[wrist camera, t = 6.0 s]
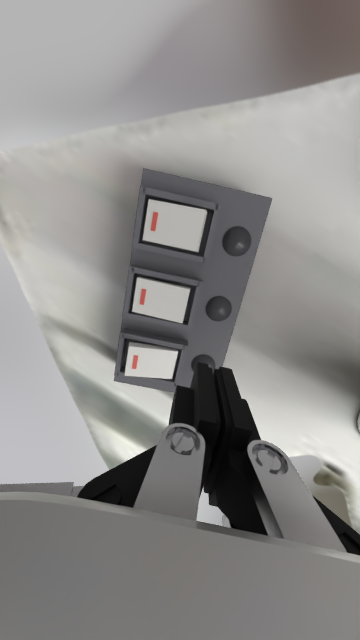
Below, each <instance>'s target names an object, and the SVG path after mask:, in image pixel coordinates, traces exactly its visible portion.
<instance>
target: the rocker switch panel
mask: <svg viewBox="0 0 360 640" xmlns="http://www.w3.org/2000/svg"><path fill="white" fill-rule="evenodd" d="M149 199H151V200H156V201H161V202H167V203H172V204H177V205H183V206H188V207H193V208H199V209H204V210H206V211H207V216H206V220H205V225H204V229H203V234H202V238H201V243H200V247H199V252H195V251H191V250H186V249H181V248H177V247H172V246H168V245H163V244H159V243H154V242H149V241H145V240H143V234H144V227H145V221H146V214H147V207H148V201H149ZM271 201H272V198H269V197H265V196H261V195H256V194H252V193H248V192H244V191H239V190H235V189H231V188H226V187H222V186H218V185H213V184H209V183H205V182H201V181H196V180H192V179H188V178H183V177H179V176H175V175H171V174H166V173H162V172H158V171H153V170H149V169H145V168H143V174H142V181H141V186H140V192H139V199H138V206H137V214H136V221H135V228H134V235H133V243H132V254H131V261H130V266H129V272H128V279H127V286H126V294H125V301H124V308H123V315H122V317H123V319H122V326H121V332H120V337H119V344H118V352H117V359H116V366H115V374H114V375H115V377H114V381H117V382H122V383H127V384H132V385H137V386H143V387H148V388H153V389H158V390H163V391H169V392H174V393H175V390H176V386H177V385H179V386H184V387H188V388H190V386H191V382H192V378H193V374H194V370H195V366H196V362H201V363H206V364H208V366H209V367H210V368H212V371H213V372H214V369H219V367H222V366H223V362H224V359H225V356H226V352H227V349H228V346H229V342H230V339H231V336H232V332H233V329H234V325H235V322H236V319H237V315H238V312H239V309H240V305H241V302H242V299H243V295H244V292H245V289H246V285H247V282H248V279H249V275H250V272H251V268H252V265H253V262H254V258H255V255H256V252H257V248H258V245H259V242H260V238H261V235H262V232H263V228H264V225H265V222H266V218H267V215H268V211H269V208H270V205H271ZM137 277H145V278H149V279H153V280H158V281H162V282H167V283H171V284H175V285H180V286H184V287H189V288H191V289H190V293H189V298H188V302H187V307H186V311H185V315H184V320H183V323H178V322H174V321H170V320H166V319H161V318H157V317H153V316H149V315H144V314H140V313H136V312H132V309H133V302H134V295H135V289H136V282H137ZM129 342H133V343H142V344H152V345H161V346H167V347H172V348H177V350H178V354H177V359H176V363H175V368H174V372H173V377H172V379H163V378H150V377H136V376H125V367H126V360H127V354H128V347H129Z"/></svg>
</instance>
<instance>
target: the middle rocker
mask: <svg viewBox="0 0 360 640" xmlns="http://www.w3.org/2000/svg"><path fill="white" fill-rule="evenodd" d="M190 289H191V288H189V287H184V286H180V285H175V284H171V283H167V282H162V281H158V280H153V279H149V278H145V277H137V282H136V289H135V295H134V302H133V309H132V312H136V313H140V314H144V315H149V316H153V317H157V318H161V319H166V320H170V321H174V322H178V323H183V320H184V315H185V311H186V307H187V302H188V298H189V293H190Z"/></svg>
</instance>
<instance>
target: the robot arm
mask: <svg viewBox="0 0 360 640" xmlns="http://www.w3.org/2000/svg"><path fill="white" fill-rule="evenodd" d="M358 429H359V431H360V413H359V416H358ZM203 486H204V492H205V493H208V494H209V505H212V506H217V507H218V508H219V509H220V510H221V511H222V512H223V517H222V522H223V526H219V525H214V524H209V523H204V522H199V521H196V519H197V511H198V502H199V498H200V495H201V492H202V488H203ZM0 640H360V534H358V533H357V532H356V531H355V530H354V529H352V528H351V527H350V526H349V525H347V524H346V523H345V522H344V521H343V520H341V519H340V518H339V517H338V516H337V515H335V514H334V513H333V512H332V511H331V510H329V509H328V508H327V507H326V506H325V505H323V504H322V503H321V502H320V501H318V500H317V499H316V498H315V497H314V496H313V495H312V494H311V493H310V491H309V490H308V488H307V486H306V485H305V483H304V481H303V480H302V478H301V477H300V475H299V473H298V472H297V470H296V469H295V467H294V466H293V464H292V462H291V460H290V459H289V458H288V456H287V455H286V454H285V453H284V452H283V451H282V450H281V449H280V448H278V447H277V446H275V445H274V444H272V443H269V442H267V441H263V440H261V438H260V436H259V433H258V430H257V428H256V425H255V422H254V419H253V417H252V414H251V411H250V408H249V406H248V403H247V401H246V400H245V399H241V396H240V393H239V390H238V387H237V384H236V381H235V378H234V375H233V372H232V369H229V368H224V367H219V369H214V372H213V371H212V368H210V367H209V366H208V364H206V363H201V362H196V366H195V370H194V374H193V378H192V382H191V386H190V388H188V387H184V386H179V385H177V386H176V390H175V394H174V398H173V403H172V408H171V413H170V419H169V426H167V427H166V428H165V429H164V431H163V432H162V434H161V437H160V440H159V442H158V445H156V446H154V447H152V448H150V449H148V450H147V451H145V452H143V453H141V454H139V455H137V456H135V457H133V458H132V459H130V460H128V461H126V462H124V463H122V464H120V465H118V466H117V467H115V468H113V469H111V470H109V471H107V472H105V473H103V474H101V475H100V476H98V477H96V478H94V479H93V480H91V481H90V482H88V483H87V484H86V485H85V486H76V487H73V482H66V483H65V482H64V483H30V484H1V485H0Z"/></svg>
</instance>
